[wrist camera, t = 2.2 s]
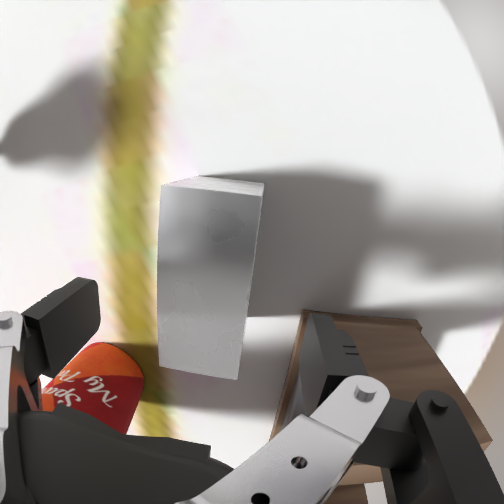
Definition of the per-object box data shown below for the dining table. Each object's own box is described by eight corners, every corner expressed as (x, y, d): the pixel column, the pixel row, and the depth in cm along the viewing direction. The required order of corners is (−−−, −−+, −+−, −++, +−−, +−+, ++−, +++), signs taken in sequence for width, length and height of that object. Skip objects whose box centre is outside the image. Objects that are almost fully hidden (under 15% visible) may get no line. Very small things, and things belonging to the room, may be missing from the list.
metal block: (198, 175, 16) (161, 185, 10) (264, 183, 16) (261, 196, 10) (189, 307, 19) (159, 366, 13) (247, 316, 19) (237, 380, 13)
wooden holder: (302, 309, 18) (327, 466, 8) (416, 320, 18) (499, 438, 7) (267, 448, 22) (261, 559, 12) (354, 450, 22) (374, 551, 12)
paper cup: (130, 323, 19) (14, 486, 6) (173, 404, 21) (118, 560, 8) (56, 335, 20) (-49, 447, 7) (99, 406, 22) (32, 524, 9)
